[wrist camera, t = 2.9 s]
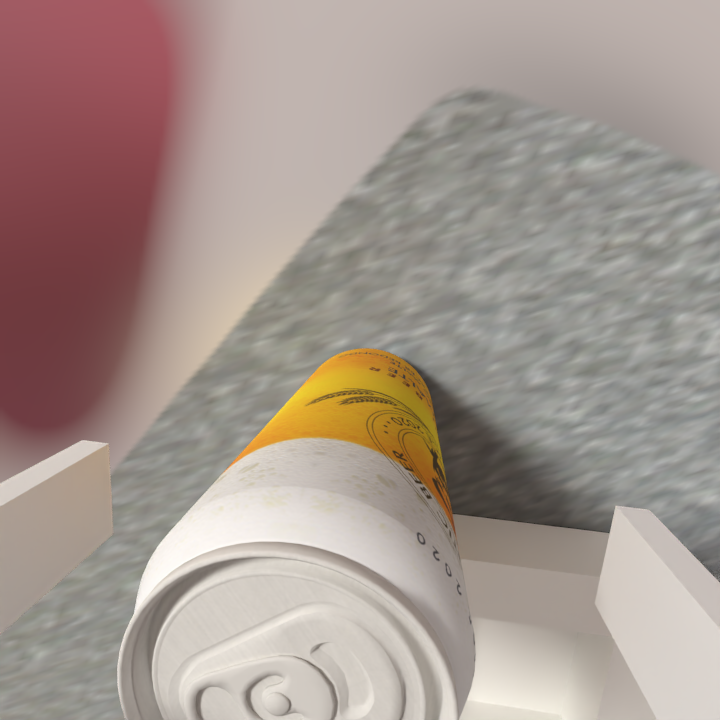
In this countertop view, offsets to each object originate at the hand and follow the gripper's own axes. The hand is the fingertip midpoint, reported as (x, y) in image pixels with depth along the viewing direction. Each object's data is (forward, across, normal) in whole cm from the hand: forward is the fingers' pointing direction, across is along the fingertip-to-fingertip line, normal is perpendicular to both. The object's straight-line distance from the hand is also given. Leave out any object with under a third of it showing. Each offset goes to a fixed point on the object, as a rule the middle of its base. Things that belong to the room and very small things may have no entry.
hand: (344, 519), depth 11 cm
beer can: (+10, 0, 0) cm, 10 cm away
